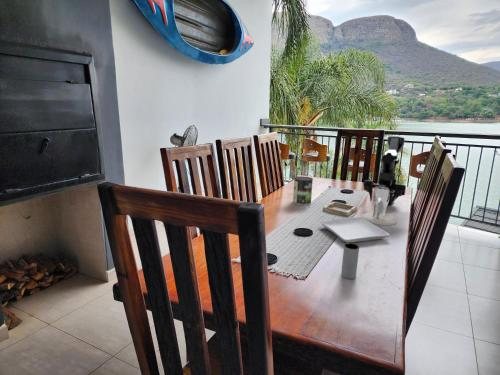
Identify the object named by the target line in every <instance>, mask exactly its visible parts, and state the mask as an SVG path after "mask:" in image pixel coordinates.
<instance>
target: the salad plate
mask: <svg viewBox="0 0 500 375" xmlns="http://www.w3.org/2000/svg"><path fill="white" fill-rule="evenodd" d="M320 224H321V225H322V226H323V227H324V228H325V229H327V230H328V231H330V232H331V233H332V234H334V235H335V236H337V237H338V238H339V239H340V240H342V241H343V242H345V243H357V242H367V241H374V240H382V239H386V238H388V237H390V236H391V234H390V233H389V232H387V231H385V230H384V229H382V228H380V227H378V226H377V225H376V224H373V223H370V222H368V221H367V220H365V219H363V218H362V216H361V217H360V216H357V217H348V218H339V219H338V218H337V219H329V220H327V219H326V220H321V221H320Z"/></svg>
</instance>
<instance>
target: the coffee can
mask: <svg viewBox="0 0 500 375" xmlns="http://www.w3.org/2000/svg"><path fill="white" fill-rule="evenodd" d="M313 181H314V179H313V178H312V177H309V176H295V177H294V178H293V192H292V193H293V195H292V198H293V199H292V203H293V204H295V205H297V206H309V205H311V204H312V193H313V192H312V191H313Z"/></svg>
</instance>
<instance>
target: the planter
mask: <svg viewBox="0 0 500 375" xmlns="http://www.w3.org/2000/svg"><path fill="white" fill-rule="evenodd" d="M342 252H343V253H342V264H341V272H340V274H341V277H343V278H345V279H347V280H353V279H356V278H357V272H358V261H359V253H360V246H359V245H358V244H356V243H354V242H351V243H348V242H345V244H344V245H343V251H342Z"/></svg>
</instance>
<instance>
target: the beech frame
mask: <svg viewBox="0 0 500 375" xmlns="http://www.w3.org/2000/svg"><path fill="white" fill-rule="evenodd" d="M337 206H338V207H337ZM357 206H358V205H357ZM357 206H356V205H352V204H346V203H342V202H339V201H331V202H330V203H328V204H326V205H324V206H323V207H322V212H326V213H330V214H335V215H339V216H344V217H348V216H351V214H353V213H354V212H356V211H357V210H358V207H357ZM334 207H337V208H342V209H346V208H347V209H348V210H347V211H345V210H340V209H336V208H334Z"/></svg>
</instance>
